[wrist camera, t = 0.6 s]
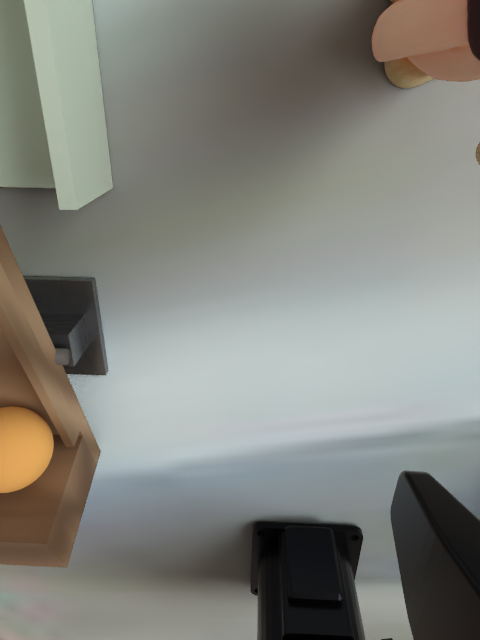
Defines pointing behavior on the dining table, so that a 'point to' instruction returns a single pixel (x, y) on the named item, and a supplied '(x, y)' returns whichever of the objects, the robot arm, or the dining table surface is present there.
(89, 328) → the fulcrum
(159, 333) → the dining table surface
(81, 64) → the tray
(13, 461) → the ball
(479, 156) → the grandmother figurine
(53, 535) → the brown wooden ramp
